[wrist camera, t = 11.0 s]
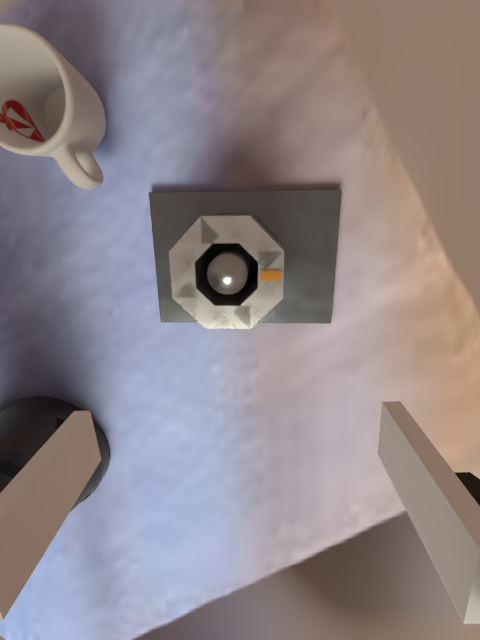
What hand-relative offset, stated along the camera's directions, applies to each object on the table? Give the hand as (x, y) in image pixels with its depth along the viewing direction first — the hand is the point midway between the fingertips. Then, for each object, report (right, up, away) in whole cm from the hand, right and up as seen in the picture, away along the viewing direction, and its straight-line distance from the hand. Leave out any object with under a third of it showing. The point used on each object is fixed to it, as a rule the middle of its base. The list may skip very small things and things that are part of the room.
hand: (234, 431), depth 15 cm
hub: (0, +10, +17) cm, 20 cm away
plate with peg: (0, +11, +19) cm, 22 cm away
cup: (-14, +22, +16) cm, 31 cm away
